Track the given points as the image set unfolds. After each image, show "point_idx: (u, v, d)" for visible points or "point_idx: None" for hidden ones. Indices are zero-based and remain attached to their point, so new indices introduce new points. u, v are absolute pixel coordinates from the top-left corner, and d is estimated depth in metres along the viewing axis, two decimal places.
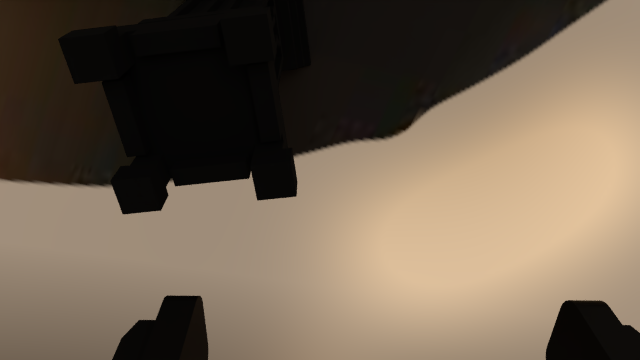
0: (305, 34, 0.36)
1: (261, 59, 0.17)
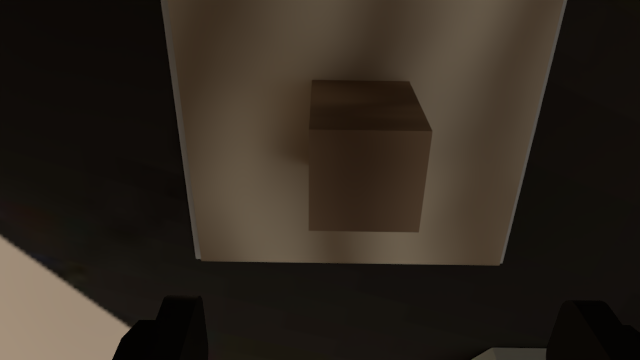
0: None
1: None
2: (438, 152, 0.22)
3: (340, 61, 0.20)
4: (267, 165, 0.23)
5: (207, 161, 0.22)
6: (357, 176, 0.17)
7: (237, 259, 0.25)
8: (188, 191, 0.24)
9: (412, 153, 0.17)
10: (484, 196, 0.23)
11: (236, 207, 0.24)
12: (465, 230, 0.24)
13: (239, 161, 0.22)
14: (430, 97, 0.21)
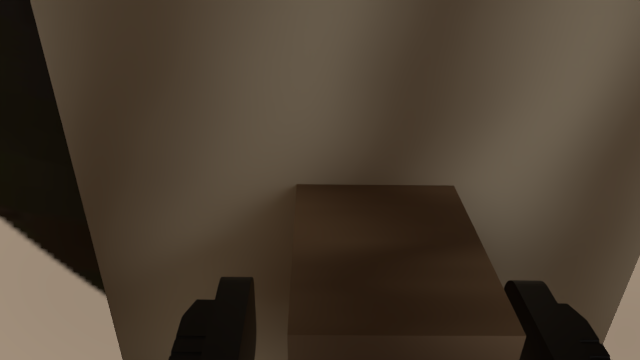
0: None
1: None
2: None
3: (342, 156, 0.12)
4: None
5: (136, 298, 0.14)
6: None
7: None
8: None
9: None
10: None
11: None
12: None
13: (186, 297, 0.14)
14: (486, 208, 0.13)
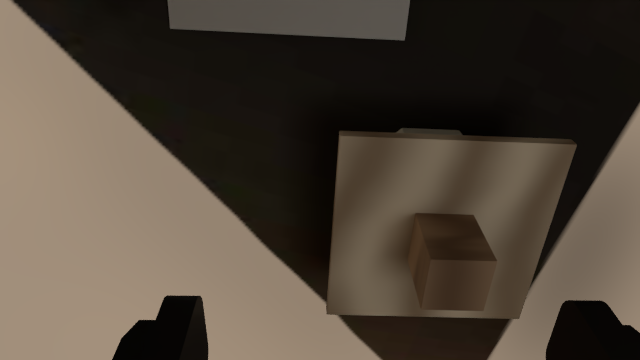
0: None
1: None
2: None
3: (433, 203, 0.34)
4: (380, 258, 0.36)
5: (343, 256, 0.36)
6: (453, 282, 0.31)
7: (350, 313, 0.38)
8: None
9: (485, 271, 0.30)
10: (512, 278, 0.37)
11: (356, 282, 0.37)
12: (499, 297, 0.38)
13: (363, 256, 0.36)
14: (485, 223, 0.35)
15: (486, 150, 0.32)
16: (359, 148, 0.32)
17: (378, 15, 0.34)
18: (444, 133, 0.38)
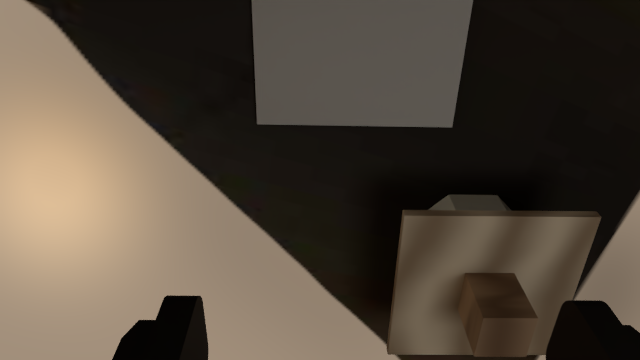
0: None
1: None
2: None
3: (480, 265, 0.40)
4: (434, 309, 0.43)
5: (403, 307, 0.42)
6: (501, 335, 0.37)
7: (408, 353, 0.45)
8: (255, 75, 0.39)
9: (528, 326, 0.37)
10: (547, 322, 0.43)
11: (413, 328, 0.44)
12: (535, 338, 0.44)
13: (420, 307, 0.42)
14: (524, 279, 0.41)
15: (525, 223, 0.38)
16: (420, 224, 0.38)
17: (430, 108, 0.40)
18: (485, 199, 0.44)
